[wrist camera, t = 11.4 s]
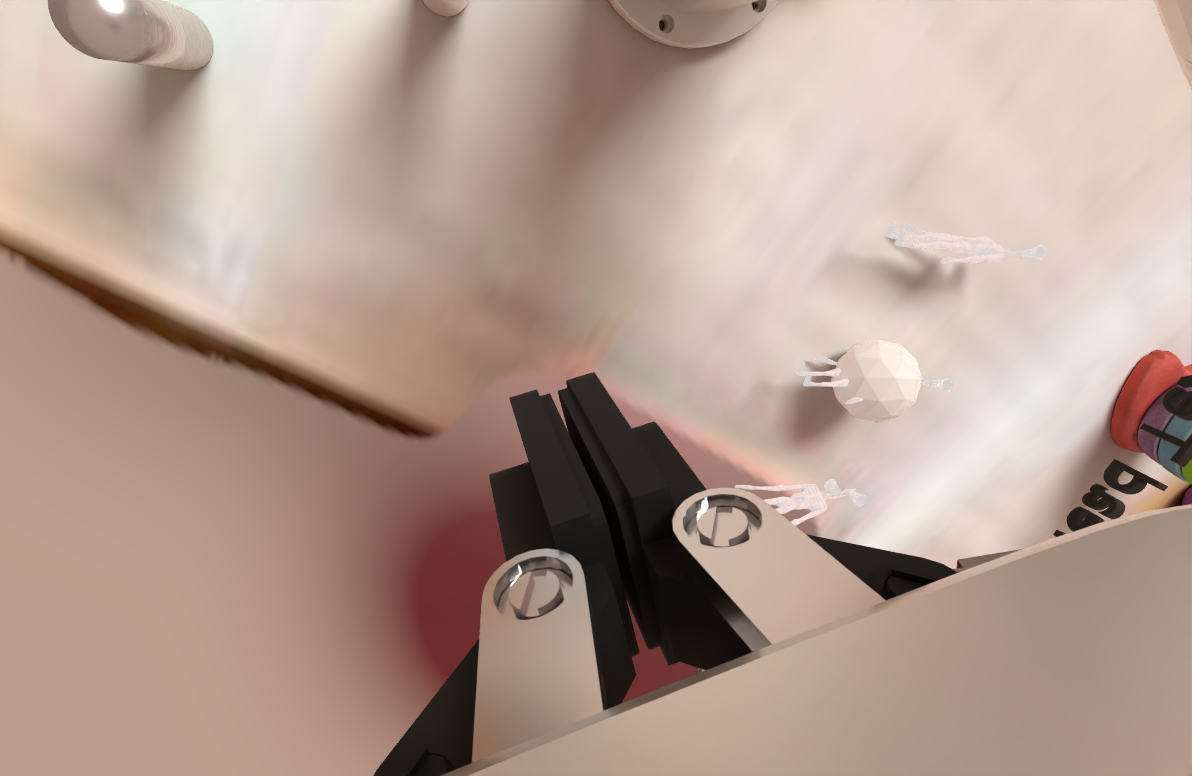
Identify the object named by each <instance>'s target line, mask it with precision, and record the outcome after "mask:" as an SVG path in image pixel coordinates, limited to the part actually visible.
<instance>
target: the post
mask: <svg viewBox="0 0 1192 776" xmlns="http://www.w3.org/2000/svg"><path fill="white" fill-rule="evenodd" d="M48 7H49V12H50V16H51V19H52V21H53V23H54V25H55V27H56V28H57V30H58V31H59V33H60V34H61V35H62V36H63V38H64V39H65V40H66V41H67V42H68V43H69V44H71V45H72V46H73V47H74V48H76V49H77V50H79V51H80V52H82V53H84V54H86V55H88V56H91V57H94V58H98V59H104V60H112V61H119V62H127V63H135V64H143V65H151V66H159V67H166V68H174V69H182V70H196V69H199V68H201V67H203V66H205V65H206V64H207V63H208V62H209V60H210V58H211V56H212V53H213V41H212V37H211V34H210V32H209V30H208V28H207V27H206V25H205V24H204V23H203V22H202V21H201V19H200V18H198V17H197V16H196V15H195V14H193V13H192V12H190V11H188V10H185V9H183V8H180V7H178V6H175V5H173V4H170V3H168V2H165V1H163V0H48Z"/></svg>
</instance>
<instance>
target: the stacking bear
mask: <svg viewBox="0 0 1192 776" xmlns="http://www.w3.org/2000/svg"><path fill="white" fill-rule="evenodd" d="M1189 375H1192V365H1190V366H1186V367H1184V366H1183V365H1182V363H1181V361H1180V360H1179V358H1178V357H1177V356H1176V355H1174V354H1173V353H1171V352H1169V351H1161V350H1155V351H1154V352H1152V353H1150V354H1149V355H1147V356H1145V357H1144V358H1143V359H1142V360H1141V361H1140V362H1139V363H1138V364H1137V366H1136V367H1135V368H1134V370H1133V371H1132V373H1131V374H1130V376H1129V378H1128V380H1127V381H1126V383H1125V385H1124V387H1123V389H1122V391H1121V393H1120V396H1119V398H1118V400H1117V403H1116V406H1115V409H1114V413H1113V417H1112V424H1111V434H1112V437H1113V440H1114V441H1115V443H1116V444H1117V445H1118V446H1120V447H1122V448H1124V449H1127V450H1130V451H1134V452H1142V453H1145V454H1147V455H1148V456H1149V457H1150V458H1151V459H1153V460H1154V461H1156V462H1157V463H1158V464H1160V465H1162V466H1163V467H1164V468H1165V469H1166V470H1168V471H1169V472H1170V473H1172V474H1174V475H1175V476H1177V477H1178V478H1180V479H1182V480H1184V481H1187V482H1188V483H1190V484H1192V459H1191V460H1190V461H1189V463H1188V464H1187V465H1186V466H1185V467H1182V466H1180V465H1178V464H1176V463H1175V462H1173V461H1171V460H1170V459H1171V458H1172V457H1173V455H1174V454H1175V453H1176V452H1177V451H1178V450H1179V448H1180V447H1178V446H1175V445H1173V444H1171V443H1169V442H1167V441H1164V440H1162V439H1160V438H1158V437H1156V436H1153V435H1151V434H1149V433H1147V432H1145V431H1144V430H1142V429H1140V427H1141V426H1142V425H1143V423H1145V424H1147V425H1149V426H1152V427H1154V428H1156V429H1158V430H1161V431H1163V432H1165V433H1167V434H1170V435H1172V436H1174V437H1176V438H1179V439H1181V440H1183V441H1186V440H1187V439H1188V438H1189V436H1190V435H1191V434H1192V421H1187V420H1183V419H1180V418H1178V417H1176V416H1175V415H1173V414H1172V413H1170V412H1168V411H1167V410H1166V409H1165V408H1164V406H1163V399H1164V397H1165V395H1166V394H1167V393H1168V392H1169V391H1170V390H1172V389H1173V388H1175V387H1180V388H1183V387H1181V386H1180V385H1178V384H1177V382H1178V380H1179V379H1180V378H1181V377H1183V376H1189ZM1183 389H1185V390H1186V391H1188V392H1189V391H1192V387H1189V388H1183ZM1182 400H1183V399H1182ZM1182 400H1181V401H1182ZM1181 401H1180V402H1181Z"/></svg>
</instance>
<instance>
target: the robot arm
mask: <svg viewBox="0 0 1192 776" xmlns="http://www.w3.org/2000/svg"><path fill="white" fill-rule="evenodd" d="M778 1H779V0H609V2H610V3H611V4H612V6H613V7H614V9H615V10H616V11H617V12H618V13H619V14H620V15H621V16H622V17H623V18H624V19H625V20H626V21H627V22H628V23H629V24H630V25H631V26H632V27H633V28H634V29H636V30H638V31H639V32H641V33H642V34H644V35H645V36H647V37H648V38H650V39H652V40H655V41H657V42H660V43H663V44H666V45H668V46H673V47H681V48H689V49H691V48H701V47H709V46H713V45H717V44H721V43H725V42H727V41H730V40H732V39H734V38H736V37H738V36H740V35H742V34H744V33H746V32H747V31H748V30H750V29H751V28H752V27H753V26H755V25H756V24H757V23H759V22H760V21H761V20H762V19H763V18H764V17H765V16H766V15H767V14H768V13H769V12H770V11H771V10H772V8H773V7H774V6H775V5H776V4H777V3H778ZM1154 1H1155V4H1156V6H1157V9H1158V12H1159V14H1160V17H1161V20H1162V22H1163V25H1164V27H1165V30H1166V33H1167V35H1168V37H1169V39H1170V41H1171V44H1172V46H1173V49H1174V52H1175V54H1176V57H1177V59H1178V62H1179V64H1180V67H1181V69H1182V71H1183V73H1184V75H1185V77H1186V79H1187V81H1188V83H1189V85H1190V87H1191V89H1192V0H1154ZM752 2H754V3H755V8H754V9H753V7H752ZM660 20H662V21H663V22H664V24H665V27H664V29H663V31H661V30H660V27H659V21H660ZM566 383H567V388H566V389H563V390H559V391H558V394H559V399H560V402H561V406H562V410H563V413H564V417H565V421H566V425H567V429H568V431H567V429H566V427H565V425H564V423H563V421H562V418H561V416H560V414H559V412H558V410H557V408H556V406H555V403H554V401H553V399H552V397H551V395H550V394H547V395H543V396H539V394H538V391H537V390H534V391H530V392H527V393H524V394H521V395H517V396H514V397H511V398H510V402H511V405H512V408H513V412H514V415H515V418H516V421H517V425H518V428H519V431H520V434H521V438H522V441H523V444H524V448H525V451H526V454H527V457H528V461H529V462H527V463H524V464H521V465H518V466H515V467H512V468H509V469H506V470H502V471H499V472H497V473H493V474H490V476H489V477H490V482H491V487H492V492H493V497H494V502H495V507H496V512H497V517H498V522H499V526H500V531H501V537H502V542H503V547H504V551H505V556H506V561H507V562H505V563H504V564H503V565H502V566H501V567H500V568H498V569H497V570H496V571H495V572H494V573H493V574H492V576H491V578H490V579H489V581H488V582H487V584H486V585H485V589H484V593H483V596H482V607H481V622H480V638H479V640H478V641H477V642H476V644H475V645H474V646H473V647H472V649H471V650H470V651H469V653H468V654H467V655H466V656H465V658H464V659H463V660H462V661H461V663H460V664H459V665H458V667H457V668H456V669H455V670H454V672H453V673H452V674H451V676H450V677H449V678H448V679H447V681H446V682H445V683H444V685H443V686H442V687H441V688H440V690H439V691H438V692H437V693H436V695H435V696H434V697H433V699H432V700H431V701H430V703H429V704H428V705H427V707H426V708H425V709H424V710H423V711H422V713H421V714H420V715H419V717H418V718H417V719H416V720H415V722H414V723H413V724H412V725H411V727H410V728H409V729H408V731H407V732H406V733H405V734H404V736H403V737H402V738H401V739H400V741H399V743H397V745H396V746H395V747H394V748H393V750H392V751H391V752H390V754H389V755H388V756H387V757H386V759H385V760H384V761H383V763H382V764H381V765H380V767H379V768H378V769H377V771H376V772H375V774H374V776H1192V504H1189V505H1182V506H1176V507H1169V508H1162V509H1156V510H1150V511H1146V512H1142V513H1138V514H1134V515H1129V516H1125V517H1121V518H1117V519H1113V520H1109V521H1104V522H1101V523H1098V524H1095V525H1092V526H1089V527H1086V528H1084V529H1081V530H1078V531H1075V532H1072V533H1068V534H1065V535H1062V536H1059V537H1055V538H1052V539H1049V540H1047V541H1044V542H1041V543H1038V544H1036V545H1033V546H1030V547H1027V548H1025V549H1021V550H1015V551H1008V552H1002V553H996V554H990V555H984V556H978V557H971V558H965V559H959V560H957V569H951V568H949V567H947V566H945V565H944V564H941V563H938V562H935V561H931V560H928V559H925V558H921V557H916V556H911V555H906V554H901V553H896V552H891V551H886V550H881V549H876V548H871V547H866V546H861V545H856V544H851V543H846V542H841V541H836V540H831V539H826V538H821V537H816V536H811V535H806V534H804V533H803V532H802V531H801V530H799V529H798V528H797V527H796V526H795V525H793V524H792V523H791V522H790V521H789V520H787V519H786V518H785V517H784V516H782V515H781V514H780V513H779V512H778V511H776V510H775V509H774V508H773V507H772V506H770V505H769V504H768V503H767V502H765V501H764V500H763V499H761V498H760V497H758V496H756V495H755V494H753V493H751V492H747V491H744V490H741V489H736V488H716V489H708V490H706V488H705V487H704V486H703V484H702V483H701V482H700V481H699V479H698V478H697V476H696V475H695V474H694V472H693V471H692V470H691V469H690V467H689V466H688V464H687V463H686V462H685V461H684V459H683V458H682V457H681V455H680V454H679V452H678V451H677V450H676V449H675V447H674V446H673V444H672V443H671V442H670V441H669V439H668V438H667V437H666V435H665V434H664V433H663V431H662V430H661V429H660V427H659V426H658V425H657V424H656V423H655V422H651V423H648V424H645V425H642V426H639V427H636V428H632V429H631V427H630V425H629V424H628V422H627V421H626V419H625V418H624V417H623V415H622V414H621V412H620V410H619V409H618V407H617V406H616V404H615V403H614V401H613V400H612V398H611V397H610V395H609V394H608V392H607V391H606V389H605V388H604V386H603V385H602V383H601V382H600V380H599V379H598V377H597V376H596V374H595V373H594V372H593V373H589V374H586V375H583V376H579V377H576V378H573V379H570V380H567V381H566ZM626 599H627V600H626ZM627 601H628V603H629V606H630V608H631V610H632V613H633V615H634V617H635V620H636V622H637V624H638V627H639V629H640V631H641V634H642V636H643V638H644V640H645V643H646V645H647V647H648V649H653V648H656V647H658V646H660V648H661V649H662V652H663V654H664V656H665V658H666V661H667V663H668V665H671V664H674V663H677V662H683V663H686V664H689V665H692V666H694V667H697V668H698V669H699V673H698V674H696V675H694V676H691V677H688V678H686V679H683V680H680V681H678V682H675V683H673V684H670V685H668V686H665V687H663V688H660V689H658V690H655V691H652V692H650V693H647V694H645V695H642V696H640V697H637V698H635V699H632V700H630V701H627V702H624V703H622V701H623V699H624V697H625V695H626V694H627V692H628V690H629V688H630V686H631V684H632V682H633V680H634V678H635V676H636V673H635V669H634V665H633V661H632V656H634V655H637V654H639V649H638V645H637V641H636V637H635V633H634V629H633V625H632V621H631V616H630V612H629V608H628V604H627ZM621 703H622V704H621Z"/></svg>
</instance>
